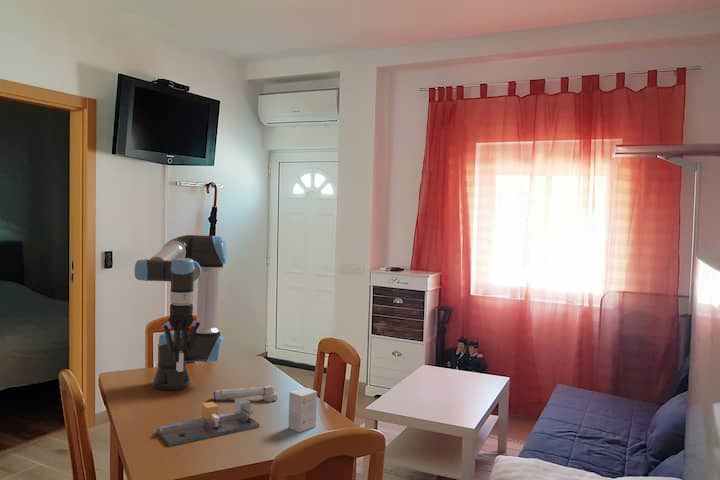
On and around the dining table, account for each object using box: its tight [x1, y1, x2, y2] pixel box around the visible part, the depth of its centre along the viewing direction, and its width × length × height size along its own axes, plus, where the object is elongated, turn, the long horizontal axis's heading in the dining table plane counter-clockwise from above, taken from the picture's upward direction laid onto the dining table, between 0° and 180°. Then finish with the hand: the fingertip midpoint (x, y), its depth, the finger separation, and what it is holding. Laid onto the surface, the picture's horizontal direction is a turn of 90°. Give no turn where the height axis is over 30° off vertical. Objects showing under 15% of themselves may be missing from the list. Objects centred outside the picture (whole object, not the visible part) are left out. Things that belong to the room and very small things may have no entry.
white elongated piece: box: [213, 384, 279, 403], centre depth 225 cm, size 5×7×25 cm
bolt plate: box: [155, 397, 261, 447], centre depth 193 cm, size 13×32×7 cm, turn 127°
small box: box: [287, 387, 318, 433], centre depth 199 cm, size 8×6×13 cm
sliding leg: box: [200, 401, 220, 427], centre depth 195 cm, size 9×4×6 cm, turn 37°
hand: (179, 370), depth 193 cm, fingers closed
